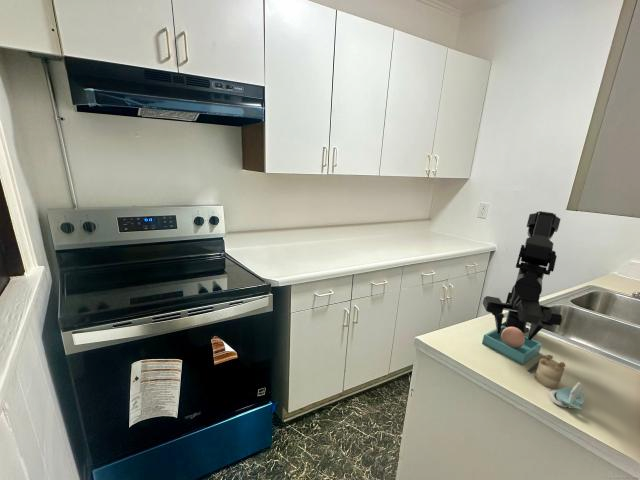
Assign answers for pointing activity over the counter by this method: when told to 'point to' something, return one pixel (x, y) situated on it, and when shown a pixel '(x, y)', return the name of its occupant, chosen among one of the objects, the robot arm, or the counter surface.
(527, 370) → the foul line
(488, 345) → the tray
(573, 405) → the pacifier
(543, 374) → the knobbed tan cylinder
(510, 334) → the ball
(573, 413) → the counter surface
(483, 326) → the counter surface
